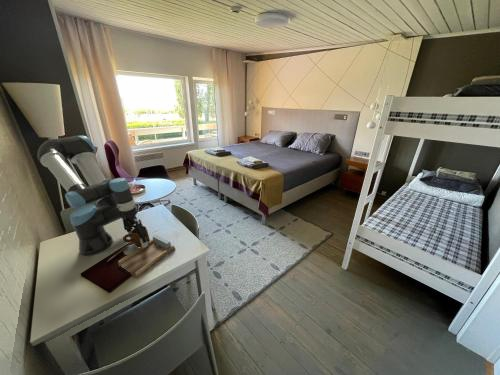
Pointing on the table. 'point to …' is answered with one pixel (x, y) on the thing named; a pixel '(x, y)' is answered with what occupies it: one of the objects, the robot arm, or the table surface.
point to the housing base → (144, 258)
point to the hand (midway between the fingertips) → (139, 243)
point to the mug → (135, 237)
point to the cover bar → (161, 241)
